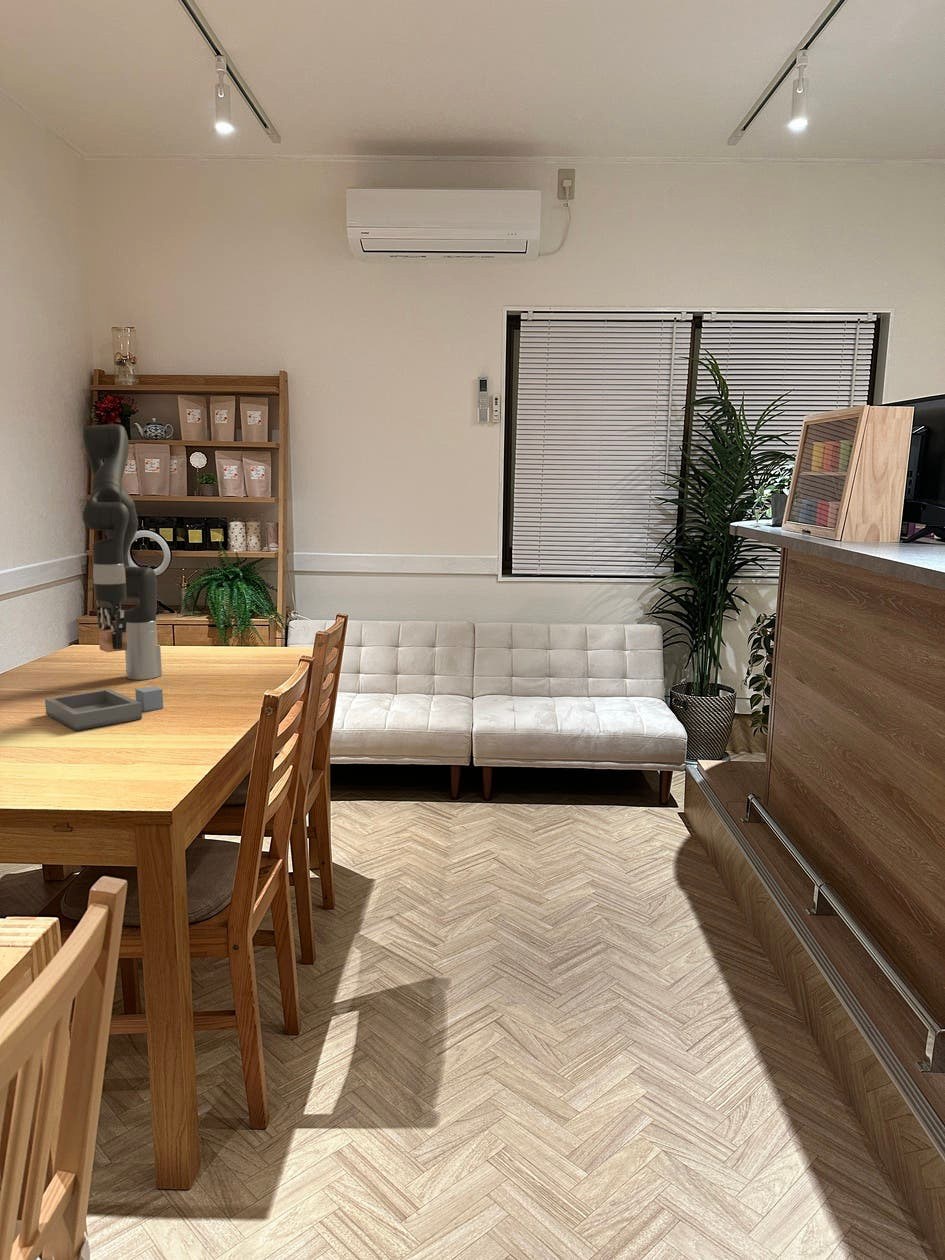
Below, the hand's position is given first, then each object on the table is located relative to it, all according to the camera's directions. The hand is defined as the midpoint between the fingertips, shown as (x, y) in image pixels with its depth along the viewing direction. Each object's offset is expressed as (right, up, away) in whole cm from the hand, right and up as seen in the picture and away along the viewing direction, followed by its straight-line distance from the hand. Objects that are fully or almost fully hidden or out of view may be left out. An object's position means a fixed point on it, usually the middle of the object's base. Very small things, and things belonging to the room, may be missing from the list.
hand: (113, 647), depth 220 cm
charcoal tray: (-3, -17, -5) cm, 18 cm away
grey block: (+8, -16, +4) cm, 18 cm away
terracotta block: (0, -1, 0) cm, 1 cm away
